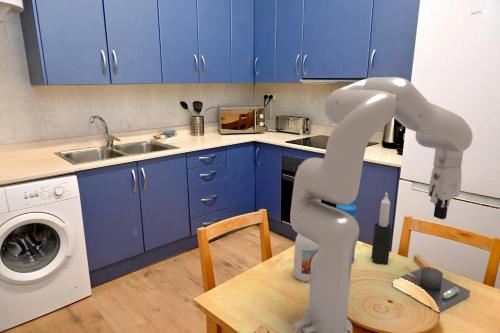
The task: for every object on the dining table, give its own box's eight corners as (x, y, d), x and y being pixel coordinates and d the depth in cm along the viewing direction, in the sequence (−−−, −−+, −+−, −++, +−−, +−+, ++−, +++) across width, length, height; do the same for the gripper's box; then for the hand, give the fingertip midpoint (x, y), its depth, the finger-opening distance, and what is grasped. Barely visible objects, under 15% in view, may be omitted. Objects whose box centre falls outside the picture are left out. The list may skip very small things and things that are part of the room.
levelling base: (438, 313, 94) (440, 300, 93) (391, 285, 106) (392, 274, 105) (469, 296, 101) (471, 285, 100) (422, 273, 113) (423, 262, 113)
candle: (388, 265, 118) (396, 195, 113) (372, 263, 119) (379, 194, 114) (385, 258, 123) (393, 191, 117) (370, 256, 124) (377, 190, 118)
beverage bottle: (354, 267, 117) (359, 211, 112) (328, 263, 119) (332, 208, 115) (354, 256, 124) (359, 203, 120) (330, 252, 127) (334, 200, 122)
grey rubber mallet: (444, 289, 100) (447, 276, 99) (425, 289, 100) (427, 276, 99) (423, 267, 113) (425, 254, 112) (406, 267, 113) (407, 254, 112)
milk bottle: (291, 279, 109) (293, 220, 104) (295, 267, 116) (298, 211, 111) (316, 284, 107) (319, 223, 102) (318, 271, 114) (322, 214, 109)
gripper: (445, 167, 100) (436, 226, 104) (473, 161, 107) (464, 217, 111) (421, 162, 106) (414, 218, 111) (449, 157, 113) (442, 210, 118)
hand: (439, 217), depth 111 cm, fingers closed
